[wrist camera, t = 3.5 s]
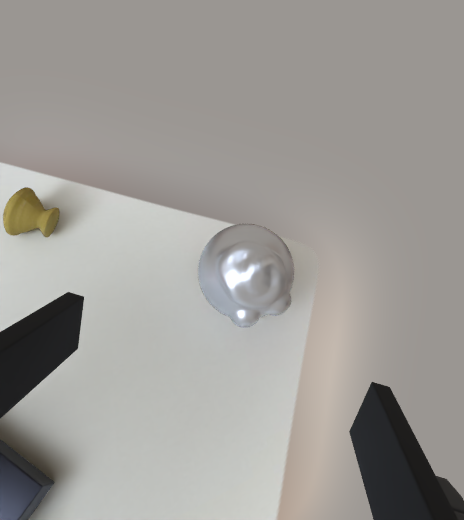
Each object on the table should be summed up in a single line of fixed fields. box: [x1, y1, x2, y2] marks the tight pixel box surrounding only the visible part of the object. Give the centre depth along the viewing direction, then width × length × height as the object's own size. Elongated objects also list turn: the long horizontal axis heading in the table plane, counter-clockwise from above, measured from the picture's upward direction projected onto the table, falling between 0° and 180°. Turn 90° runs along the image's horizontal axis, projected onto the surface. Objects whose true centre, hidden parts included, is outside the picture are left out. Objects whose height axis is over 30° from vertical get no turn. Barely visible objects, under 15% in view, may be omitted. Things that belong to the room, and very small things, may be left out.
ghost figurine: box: [198, 224, 294, 327], centre depth 29 cm, size 9×9×10 cm
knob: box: [3, 188, 59, 237], centre depth 34 cm, size 5×5×5 cm
